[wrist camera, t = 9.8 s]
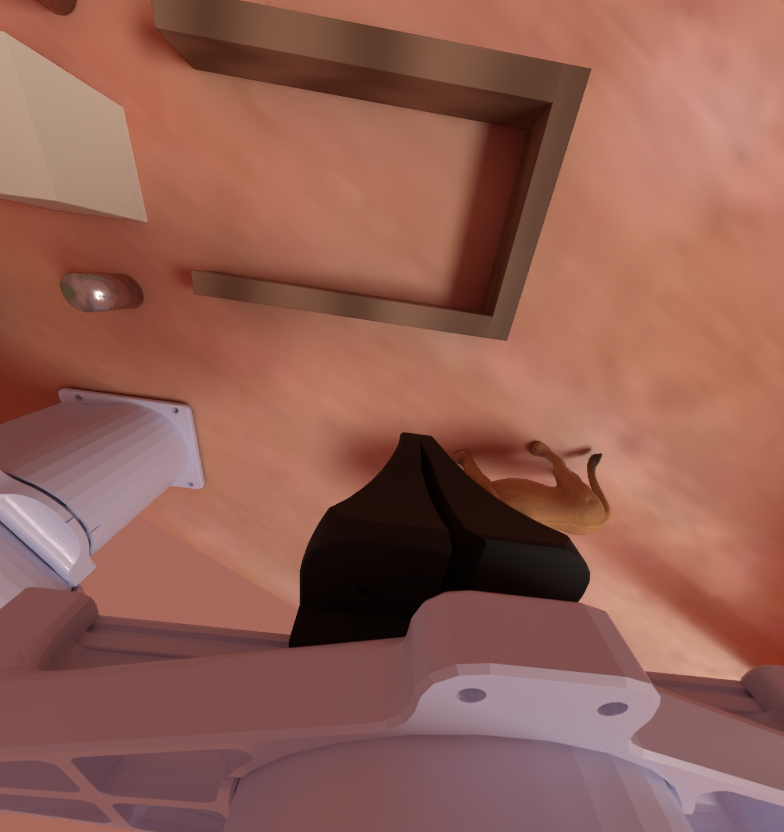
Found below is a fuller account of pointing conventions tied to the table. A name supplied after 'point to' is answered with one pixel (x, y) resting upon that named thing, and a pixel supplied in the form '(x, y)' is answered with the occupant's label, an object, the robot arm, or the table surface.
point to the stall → (400, 86)
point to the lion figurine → (550, 494)
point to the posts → (86, 287)
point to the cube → (62, 140)
